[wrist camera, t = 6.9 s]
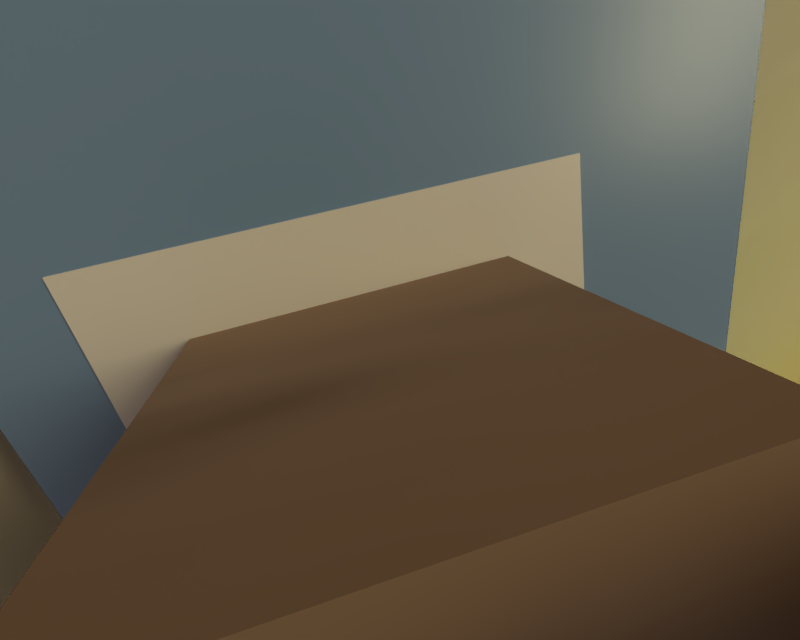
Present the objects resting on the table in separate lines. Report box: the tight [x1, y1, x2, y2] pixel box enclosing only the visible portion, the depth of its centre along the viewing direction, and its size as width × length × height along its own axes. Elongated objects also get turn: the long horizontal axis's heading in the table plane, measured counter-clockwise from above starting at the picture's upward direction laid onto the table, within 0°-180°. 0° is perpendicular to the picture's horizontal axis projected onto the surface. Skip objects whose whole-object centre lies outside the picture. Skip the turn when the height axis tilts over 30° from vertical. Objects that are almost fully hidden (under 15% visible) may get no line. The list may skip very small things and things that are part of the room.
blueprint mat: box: [0, 0, 766, 519], centre depth 10 cm, size 18×16×1 cm
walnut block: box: [0, 256, 800, 640], centre depth 7 cm, size 6×6×6 cm
